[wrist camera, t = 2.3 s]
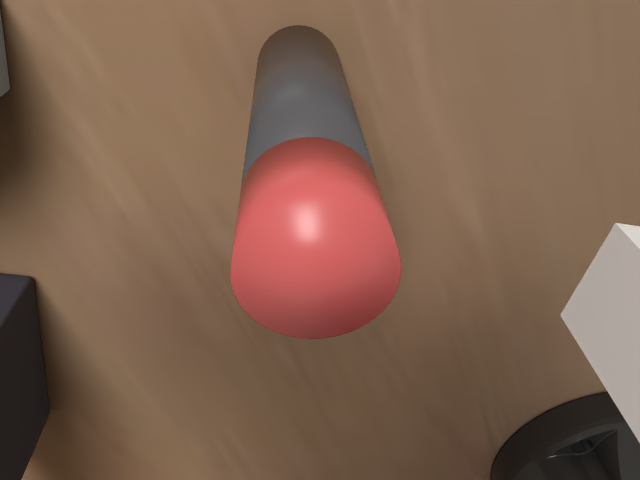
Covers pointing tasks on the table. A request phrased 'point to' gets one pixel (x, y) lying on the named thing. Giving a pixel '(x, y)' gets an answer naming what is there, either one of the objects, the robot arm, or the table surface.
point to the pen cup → (3, 64)
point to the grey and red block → (20, 376)
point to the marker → (309, 199)
